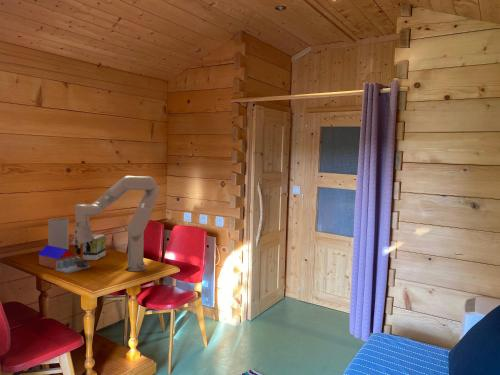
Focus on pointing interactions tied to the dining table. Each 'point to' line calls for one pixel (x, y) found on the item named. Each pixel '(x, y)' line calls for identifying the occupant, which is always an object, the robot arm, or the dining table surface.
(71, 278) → the dining table surface
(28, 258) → the dining table surface
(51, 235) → the cylinder vase
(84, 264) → the cube on round rod
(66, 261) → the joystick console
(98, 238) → the tea box
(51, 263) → the house
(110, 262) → the dining table surface
